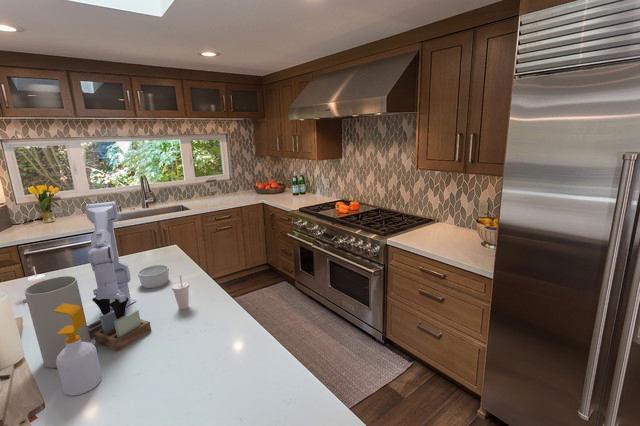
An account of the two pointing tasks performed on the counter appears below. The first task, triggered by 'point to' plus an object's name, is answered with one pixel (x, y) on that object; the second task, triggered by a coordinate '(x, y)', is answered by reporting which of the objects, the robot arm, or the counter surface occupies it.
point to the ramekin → (154, 276)
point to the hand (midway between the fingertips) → (113, 316)
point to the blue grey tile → (108, 321)
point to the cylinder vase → (53, 314)
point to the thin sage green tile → (127, 323)
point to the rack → (118, 344)
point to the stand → (94, 328)
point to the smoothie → (181, 294)
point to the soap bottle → (77, 356)
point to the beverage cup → (36, 278)
